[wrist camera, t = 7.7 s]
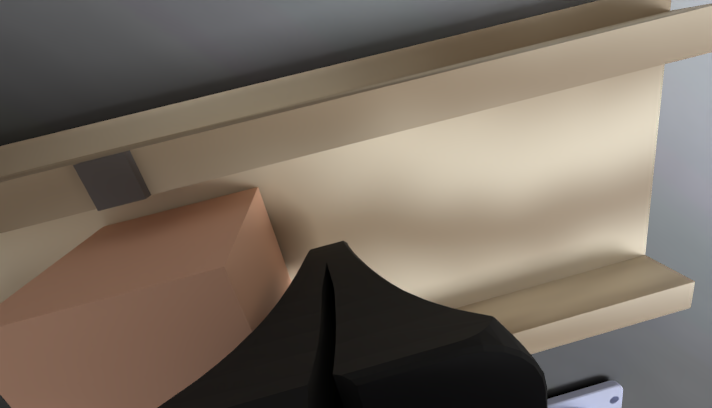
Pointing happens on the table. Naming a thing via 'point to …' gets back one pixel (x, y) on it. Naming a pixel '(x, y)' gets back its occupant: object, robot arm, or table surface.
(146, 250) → the block
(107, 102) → the table surface
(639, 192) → the chute
